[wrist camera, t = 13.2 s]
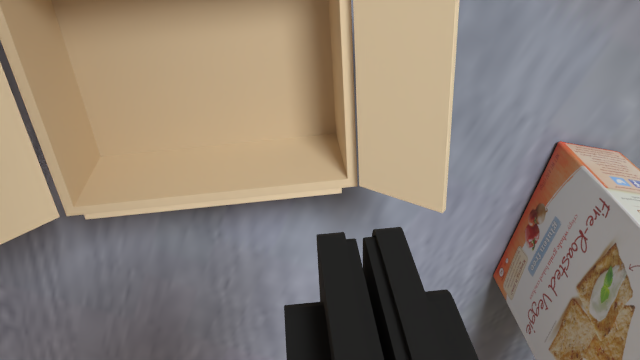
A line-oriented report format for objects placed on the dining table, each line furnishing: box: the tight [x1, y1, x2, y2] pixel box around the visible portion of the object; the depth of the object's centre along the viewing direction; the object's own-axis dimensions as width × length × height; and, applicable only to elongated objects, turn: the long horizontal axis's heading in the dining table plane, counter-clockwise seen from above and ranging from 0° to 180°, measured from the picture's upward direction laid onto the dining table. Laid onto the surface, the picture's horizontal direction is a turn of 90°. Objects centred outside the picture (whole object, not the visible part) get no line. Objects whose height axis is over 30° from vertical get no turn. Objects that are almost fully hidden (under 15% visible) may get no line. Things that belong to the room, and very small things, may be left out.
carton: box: [0, 0, 357, 219], centre depth 33 cm, size 16×18×7 cm
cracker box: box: [493, 141, 640, 360], centre depth 37 cm, size 14×6×21 cm, turn 168°
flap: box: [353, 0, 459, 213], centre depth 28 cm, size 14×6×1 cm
